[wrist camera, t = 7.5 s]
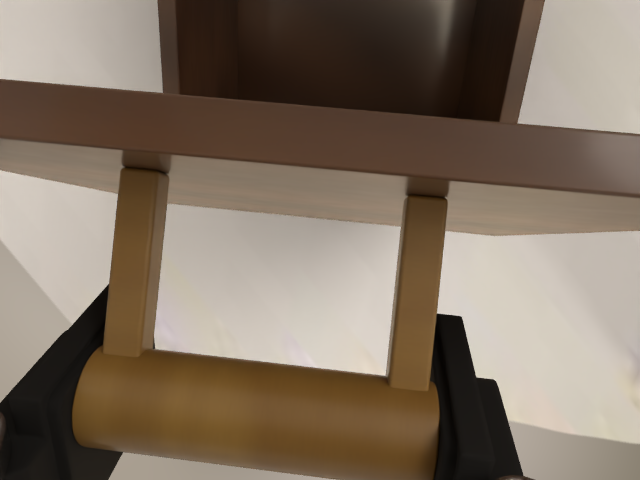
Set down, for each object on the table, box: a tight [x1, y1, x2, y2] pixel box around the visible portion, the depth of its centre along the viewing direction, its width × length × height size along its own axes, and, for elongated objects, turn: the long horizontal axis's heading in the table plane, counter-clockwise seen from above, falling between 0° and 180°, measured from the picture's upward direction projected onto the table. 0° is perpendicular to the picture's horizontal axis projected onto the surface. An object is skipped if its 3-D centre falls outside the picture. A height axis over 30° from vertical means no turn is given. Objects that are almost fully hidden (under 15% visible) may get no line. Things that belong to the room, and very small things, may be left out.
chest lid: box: [0, 79, 640, 480], centre depth 16 cm, size 18×16×6 cm
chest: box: [158, 0, 545, 123], centre depth 27 cm, size 18×16×12 cm
